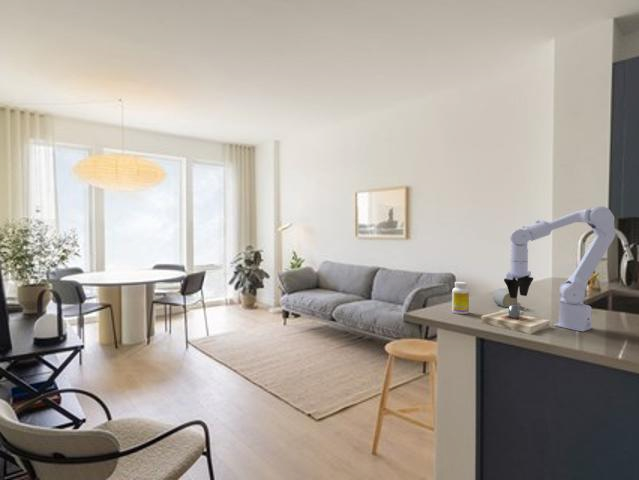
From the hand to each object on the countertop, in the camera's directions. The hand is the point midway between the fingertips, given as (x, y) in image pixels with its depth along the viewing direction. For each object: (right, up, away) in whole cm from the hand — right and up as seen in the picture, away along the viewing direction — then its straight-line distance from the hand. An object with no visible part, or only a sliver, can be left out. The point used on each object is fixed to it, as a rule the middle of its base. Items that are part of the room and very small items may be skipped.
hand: (518, 296), depth 142 cm
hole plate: (-3, -10, -3) cm, 11 cm away
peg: (-4, -10, -3) cm, 11 cm away
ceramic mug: (+9, -9, +27) cm, 30 cm away
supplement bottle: (-16, -9, +15) cm, 24 cm away
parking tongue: (+2, -9, +10) cm, 14 cm away
